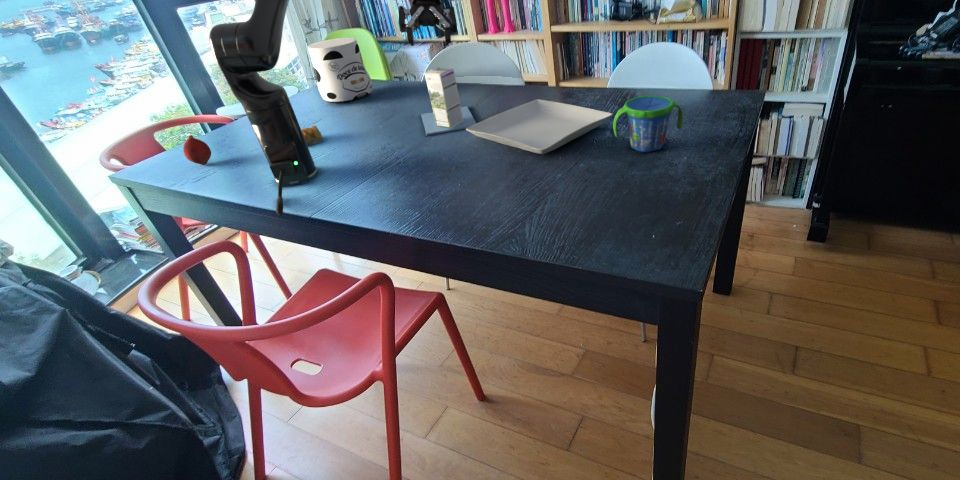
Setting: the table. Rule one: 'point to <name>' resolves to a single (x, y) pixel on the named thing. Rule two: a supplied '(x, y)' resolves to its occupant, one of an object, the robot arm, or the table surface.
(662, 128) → the snack cup
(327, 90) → the doce de leite tin
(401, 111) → the table surface
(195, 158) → the onion
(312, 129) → the pastry
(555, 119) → the square plate
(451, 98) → the syrup box
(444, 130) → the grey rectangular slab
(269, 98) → the robot arm
